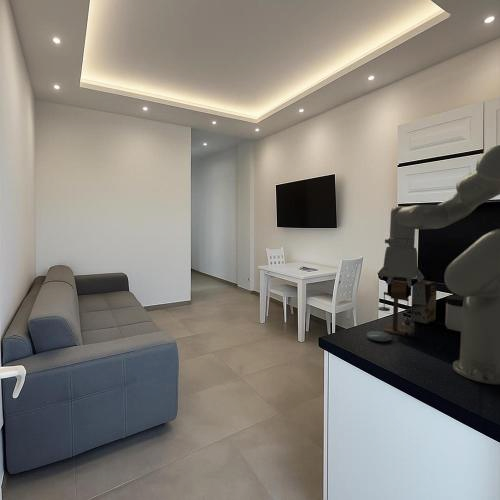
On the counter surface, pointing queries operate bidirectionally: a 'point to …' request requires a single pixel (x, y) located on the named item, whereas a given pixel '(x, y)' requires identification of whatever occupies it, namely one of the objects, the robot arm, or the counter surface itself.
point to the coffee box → (424, 301)
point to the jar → (454, 312)
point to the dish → (379, 336)
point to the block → (398, 290)
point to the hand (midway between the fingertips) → (398, 296)
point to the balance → (396, 319)
